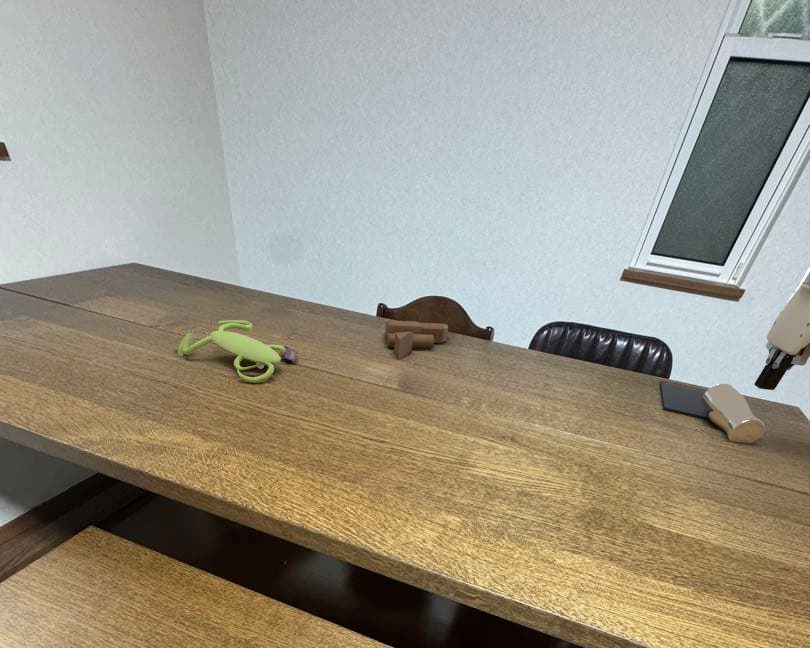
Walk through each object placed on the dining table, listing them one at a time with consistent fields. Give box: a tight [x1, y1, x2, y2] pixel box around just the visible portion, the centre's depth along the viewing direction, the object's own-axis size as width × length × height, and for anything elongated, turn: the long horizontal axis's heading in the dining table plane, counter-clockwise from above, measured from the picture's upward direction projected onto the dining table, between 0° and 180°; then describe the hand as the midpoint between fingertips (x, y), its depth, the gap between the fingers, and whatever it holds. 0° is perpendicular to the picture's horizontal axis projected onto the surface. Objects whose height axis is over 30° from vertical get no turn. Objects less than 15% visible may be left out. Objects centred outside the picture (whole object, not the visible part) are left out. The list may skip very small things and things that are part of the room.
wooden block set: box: [384, 319, 449, 361], centre depth 118 cm, size 17×6×18 cm
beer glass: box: [701, 383, 766, 445], centre depth 95 cm, size 7×7×15 cm
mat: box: [659, 382, 712, 422], centre depth 108 cm, size 16×18×1 cm
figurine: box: [177, 319, 298, 384], centre depth 100 cm, size 18×27×6 cm
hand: (763, 387), depth 87 cm, fingers closed
